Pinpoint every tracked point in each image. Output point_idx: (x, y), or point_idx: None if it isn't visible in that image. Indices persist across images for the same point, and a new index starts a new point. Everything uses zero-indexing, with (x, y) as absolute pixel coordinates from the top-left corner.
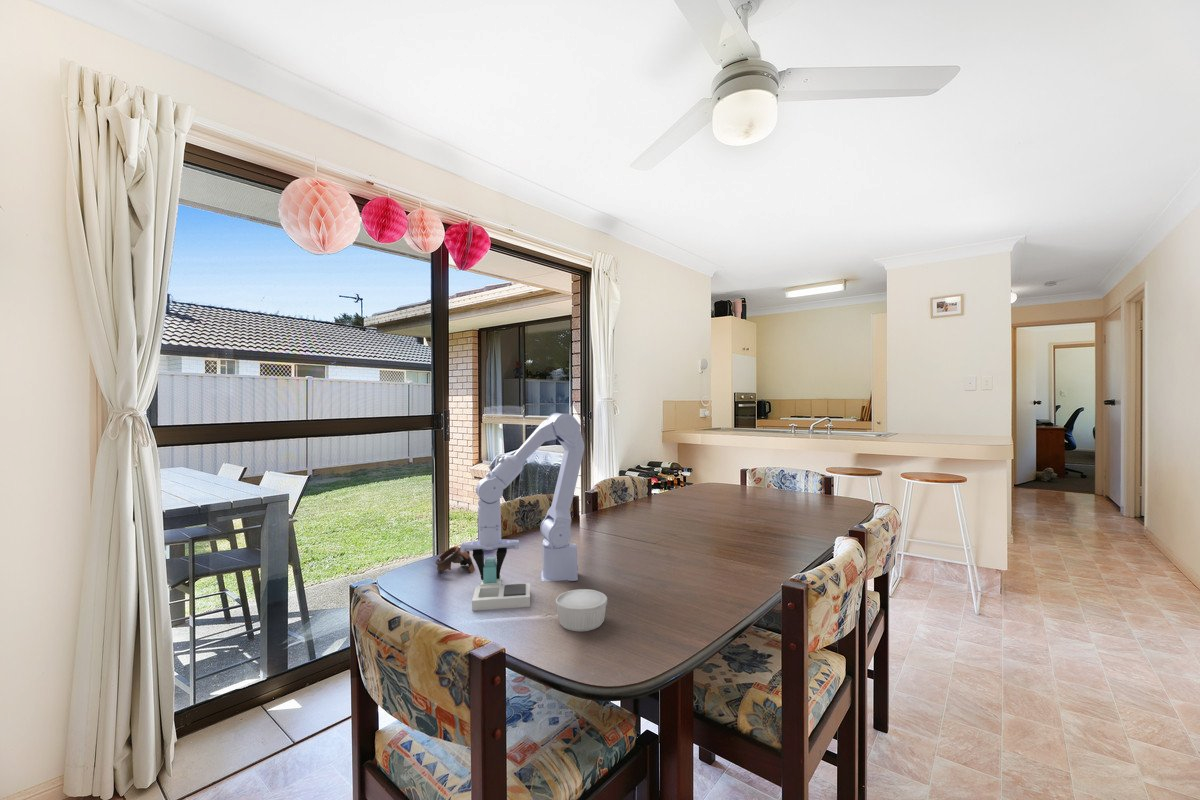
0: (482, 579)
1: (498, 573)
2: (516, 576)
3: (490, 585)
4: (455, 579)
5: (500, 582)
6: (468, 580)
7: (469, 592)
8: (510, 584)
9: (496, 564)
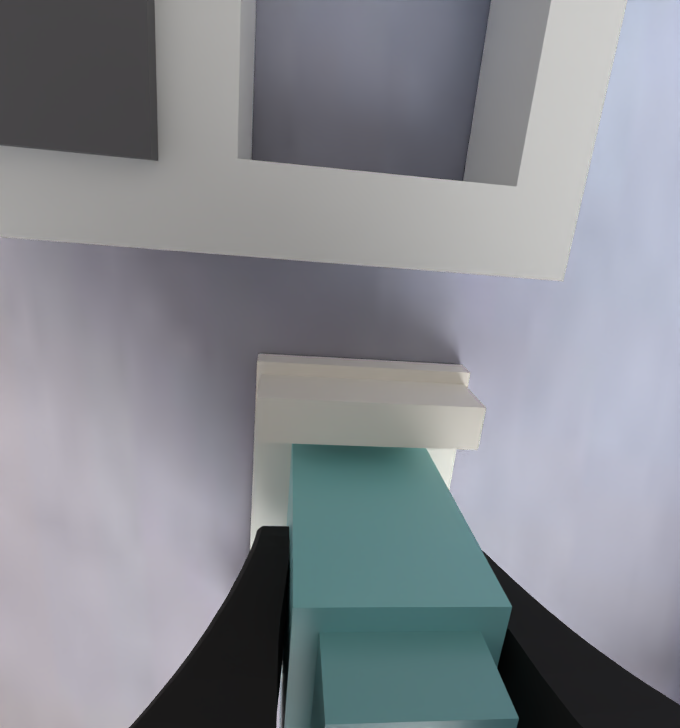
0: None
1: (262, 561)
2: (113, 693)
3: (361, 397)
4: None
5: None
6: None
7: (543, 420)
8: (75, 231)
9: (287, 709)
